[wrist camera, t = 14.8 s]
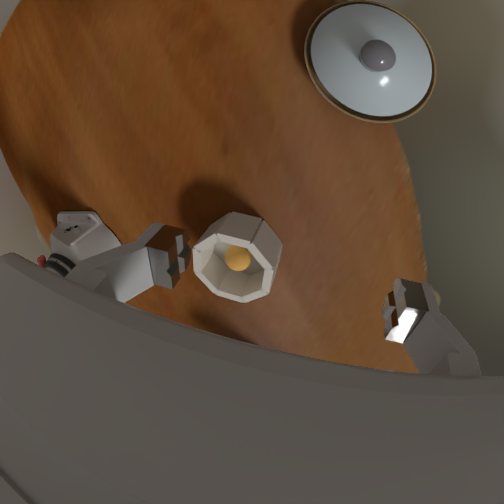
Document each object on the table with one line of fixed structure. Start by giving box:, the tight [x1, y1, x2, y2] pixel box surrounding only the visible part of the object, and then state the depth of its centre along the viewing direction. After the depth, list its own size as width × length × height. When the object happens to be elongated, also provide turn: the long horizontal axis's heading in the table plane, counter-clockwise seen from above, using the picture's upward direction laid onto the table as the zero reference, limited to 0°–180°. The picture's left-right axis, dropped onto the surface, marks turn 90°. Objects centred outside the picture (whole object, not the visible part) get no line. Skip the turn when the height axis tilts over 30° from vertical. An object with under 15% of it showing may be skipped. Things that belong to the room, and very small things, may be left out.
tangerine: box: [225, 245, 252, 271], centre depth 41 cm, size 4×4×4 cm
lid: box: [311, 4, 432, 116], centre depth 19 cm, size 13×13×4 cm
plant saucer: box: [304, 0, 436, 123], centre depth 22 cm, size 15×15×3 cm
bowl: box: [193, 212, 282, 303], centre depth 41 cm, size 12×12×6 cm
